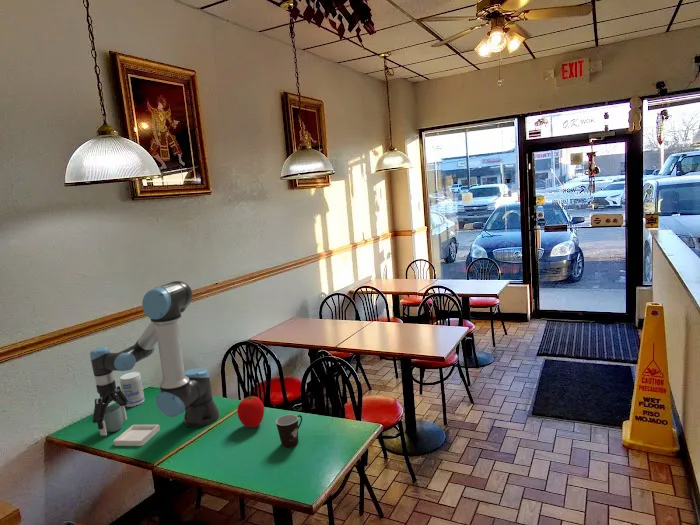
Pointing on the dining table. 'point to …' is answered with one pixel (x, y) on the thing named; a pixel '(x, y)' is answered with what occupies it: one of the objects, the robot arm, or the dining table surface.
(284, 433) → the coffee mug
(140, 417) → the dining table surface
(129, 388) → the supplement tub
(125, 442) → the dish
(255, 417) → the tomato
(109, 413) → the cup
